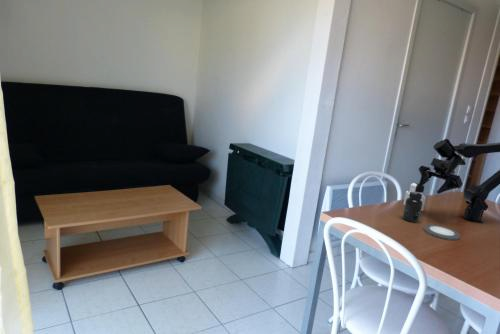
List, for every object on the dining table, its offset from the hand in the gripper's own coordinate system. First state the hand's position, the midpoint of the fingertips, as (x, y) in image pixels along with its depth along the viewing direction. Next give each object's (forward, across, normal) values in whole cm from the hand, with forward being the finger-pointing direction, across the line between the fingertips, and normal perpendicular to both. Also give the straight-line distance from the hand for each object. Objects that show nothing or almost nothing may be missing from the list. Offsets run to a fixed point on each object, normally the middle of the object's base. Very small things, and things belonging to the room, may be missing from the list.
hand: (428, 189), depth 160 cm
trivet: (+15, +15, +4) cm, 21 cm away
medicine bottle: (+3, -12, +16) cm, 20 cm away
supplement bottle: (+15, 0, +4) cm, 15 cm away
